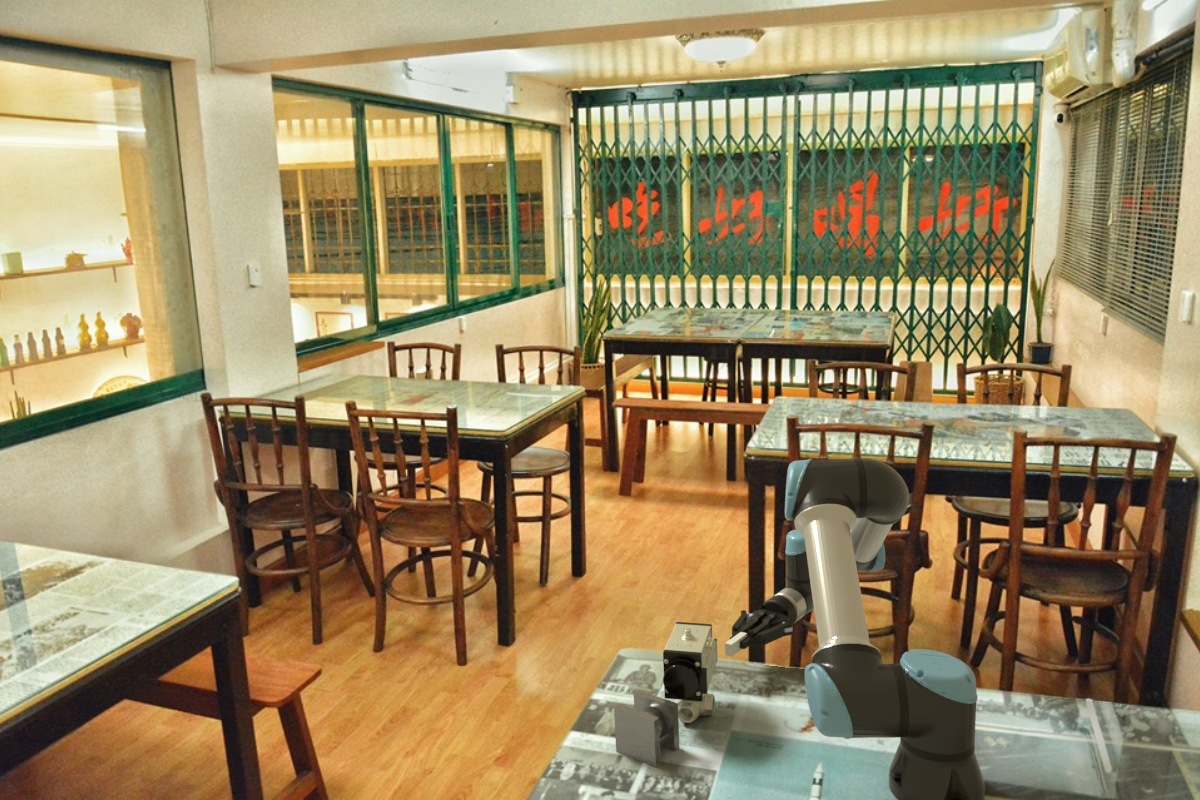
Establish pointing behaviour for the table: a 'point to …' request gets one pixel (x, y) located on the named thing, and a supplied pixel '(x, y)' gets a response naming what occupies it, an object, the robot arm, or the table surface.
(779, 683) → the table surface
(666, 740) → the flanged fitting
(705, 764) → the table surface
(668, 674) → the ball valve
